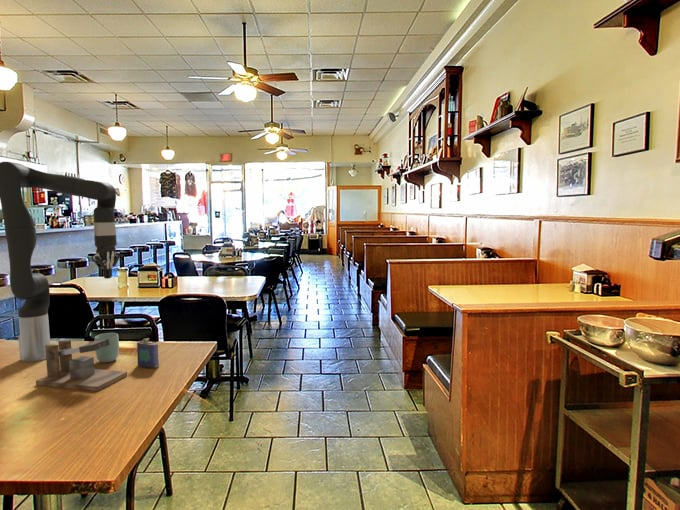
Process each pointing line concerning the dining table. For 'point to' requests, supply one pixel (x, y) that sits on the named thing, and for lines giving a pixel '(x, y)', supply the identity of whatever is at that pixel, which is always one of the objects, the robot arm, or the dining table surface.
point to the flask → (147, 354)
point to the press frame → (75, 371)
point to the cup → (108, 347)
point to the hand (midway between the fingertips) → (107, 278)
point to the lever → (85, 347)
